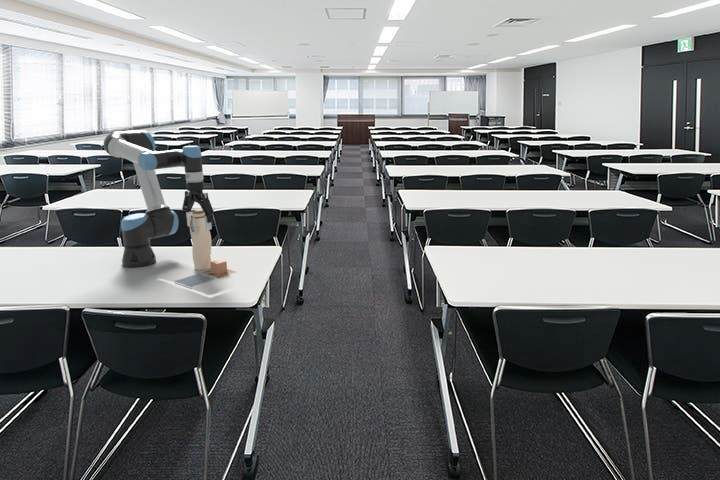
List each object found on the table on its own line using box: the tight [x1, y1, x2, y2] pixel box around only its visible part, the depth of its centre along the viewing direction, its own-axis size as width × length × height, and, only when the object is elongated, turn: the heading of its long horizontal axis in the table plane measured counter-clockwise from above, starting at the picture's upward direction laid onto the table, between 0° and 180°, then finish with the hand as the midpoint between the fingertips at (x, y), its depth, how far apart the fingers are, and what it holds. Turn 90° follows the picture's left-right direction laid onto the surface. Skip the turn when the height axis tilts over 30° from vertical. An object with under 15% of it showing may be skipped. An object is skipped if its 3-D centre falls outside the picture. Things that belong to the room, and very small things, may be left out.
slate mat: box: [174, 273, 215, 290], centre depth 225 cm, size 12×12×1 cm
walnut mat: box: [201, 268, 237, 278], centre depth 235 cm, size 12×10×1 cm
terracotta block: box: [210, 258, 228, 275], centre depth 234 cm, size 5×5×5 cm
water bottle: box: [188, 208, 212, 271], centre depth 238 cm, size 10×9×28 cm
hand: (199, 227), depth 237 cm, fingers open, 13 cm apart
